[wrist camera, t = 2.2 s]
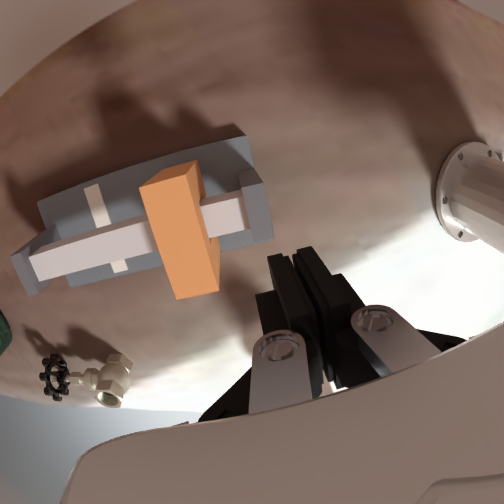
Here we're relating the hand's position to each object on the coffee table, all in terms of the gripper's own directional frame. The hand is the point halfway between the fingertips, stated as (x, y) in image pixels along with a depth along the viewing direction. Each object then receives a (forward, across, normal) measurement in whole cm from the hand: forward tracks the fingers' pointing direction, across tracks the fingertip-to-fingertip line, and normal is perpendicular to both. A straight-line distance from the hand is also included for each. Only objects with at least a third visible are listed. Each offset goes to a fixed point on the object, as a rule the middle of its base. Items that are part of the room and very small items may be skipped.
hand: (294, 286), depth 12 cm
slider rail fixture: (+19, +10, 0) cm, 22 cm away
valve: (+20, +25, +17) cm, 36 cm away
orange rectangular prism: (+16, +5, 0) cm, 17 cm away
